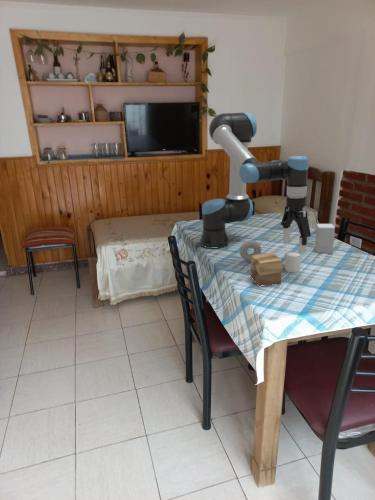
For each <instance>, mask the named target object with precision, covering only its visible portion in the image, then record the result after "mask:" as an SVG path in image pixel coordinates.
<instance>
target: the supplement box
mask: <svg viewBox="0 0 375 500" xmlns="http://www.w3.org/2000/svg"><path fill="white" fill-rule="evenodd" d="M315 227H316V228H315V240H314V250H315V252H316V253H318V254H333V251H334V244H335V241H334V240H335V230H336V227H335V226H334V224H333V223H316V226H315Z"/></svg>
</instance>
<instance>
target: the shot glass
mask: <svg viewBox="0 0 375 500" xmlns="http://www.w3.org/2000/svg"><path fill="white" fill-rule="evenodd" d="M302 255H303V254H302V253H299V252H297V251H287V252H285V253H284V268H285V271H286V272H289V273H297V272H299V271H300V268H301V264H302V263H301V261H302V257H303V256H302Z"/></svg>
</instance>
